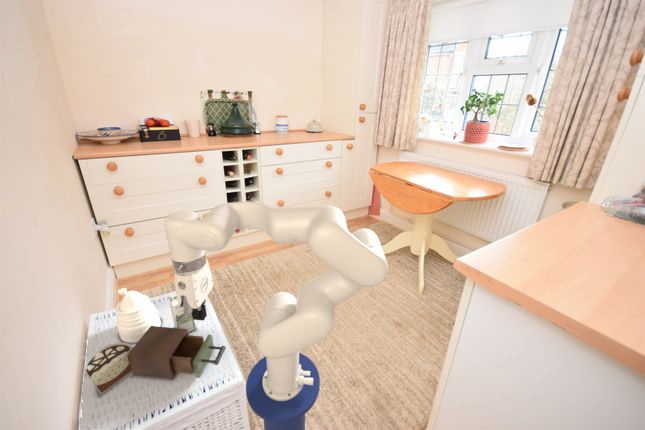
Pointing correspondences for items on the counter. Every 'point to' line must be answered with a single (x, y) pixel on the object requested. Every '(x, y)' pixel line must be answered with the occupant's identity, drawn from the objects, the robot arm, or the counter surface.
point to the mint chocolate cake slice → (108, 366)
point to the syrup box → (181, 316)
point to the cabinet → (156, 352)
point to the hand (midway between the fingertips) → (199, 317)
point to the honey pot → (135, 315)
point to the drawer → (194, 355)
